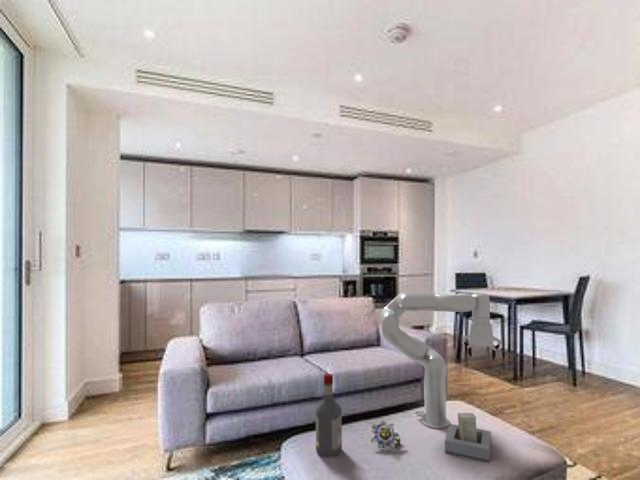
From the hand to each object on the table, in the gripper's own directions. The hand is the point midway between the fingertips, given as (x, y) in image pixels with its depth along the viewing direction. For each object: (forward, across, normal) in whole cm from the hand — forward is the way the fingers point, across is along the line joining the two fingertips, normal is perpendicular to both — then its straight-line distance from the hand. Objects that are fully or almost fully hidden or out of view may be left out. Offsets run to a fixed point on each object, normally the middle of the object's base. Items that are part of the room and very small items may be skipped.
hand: (481, 357), depth 177 cm
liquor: (+31, -54, -52) cm, 81 cm away
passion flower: (+31, -35, -38) cm, 60 cm away
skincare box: (+30, -4, -26) cm, 39 cm away
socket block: (+30, -4, -26) cm, 40 cm away
